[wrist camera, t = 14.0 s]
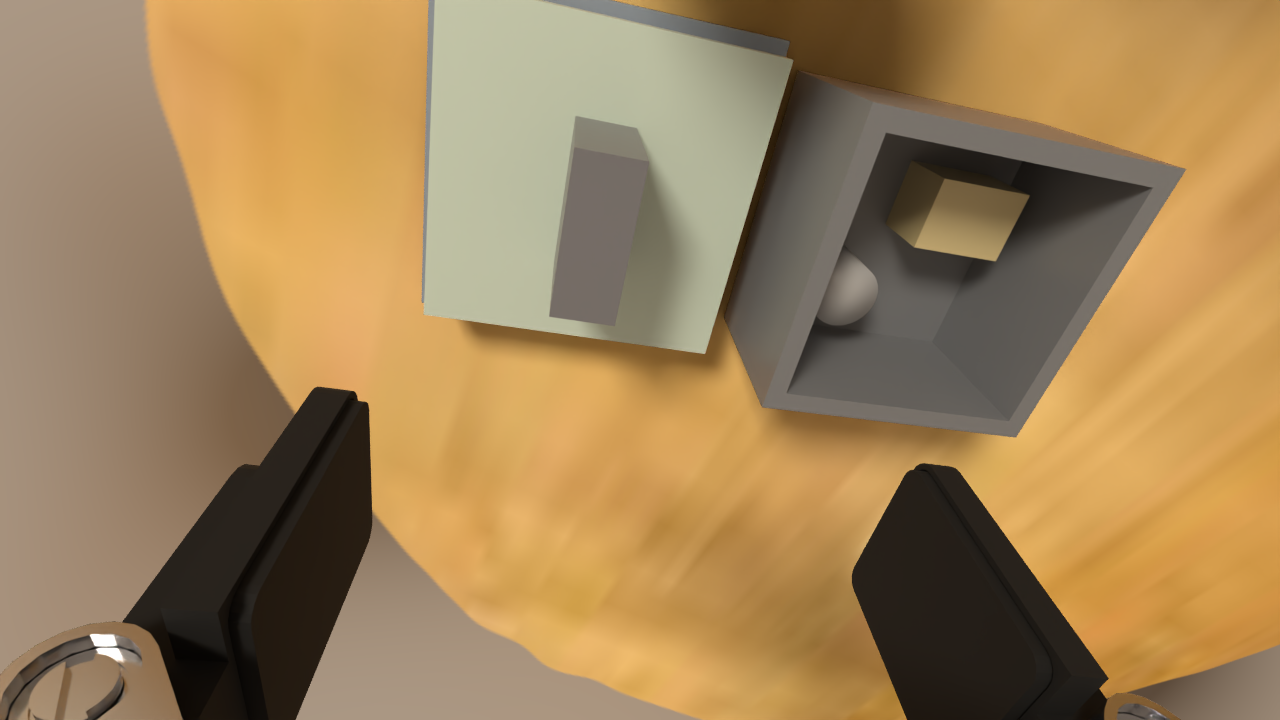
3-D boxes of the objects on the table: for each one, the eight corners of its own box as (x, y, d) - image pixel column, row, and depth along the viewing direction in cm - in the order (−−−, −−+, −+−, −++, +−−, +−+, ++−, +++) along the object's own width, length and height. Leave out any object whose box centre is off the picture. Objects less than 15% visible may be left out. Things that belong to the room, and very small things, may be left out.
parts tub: (1042, 123, 29) (1186, 169, 22) (930, 347, 35) (1015, 437, 28) (798, 70, 27) (873, 102, 20) (724, 317, 33) (761, 406, 26)
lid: (777, 53, 25) (843, 79, 19) (697, 331, 32) (726, 419, 25) (447, -23, 23) (397, -24, 17) (433, 293, 29) (393, 379, 23)
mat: (783, 39, 26) (790, 41, 25) (701, 331, 33) (704, 340, 32) (435, -40, 23) (429, -41, 23) (426, 293, 30) (421, 302, 30)
